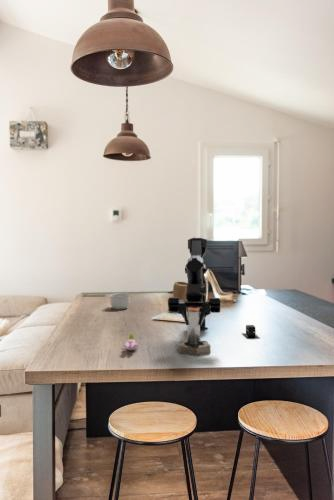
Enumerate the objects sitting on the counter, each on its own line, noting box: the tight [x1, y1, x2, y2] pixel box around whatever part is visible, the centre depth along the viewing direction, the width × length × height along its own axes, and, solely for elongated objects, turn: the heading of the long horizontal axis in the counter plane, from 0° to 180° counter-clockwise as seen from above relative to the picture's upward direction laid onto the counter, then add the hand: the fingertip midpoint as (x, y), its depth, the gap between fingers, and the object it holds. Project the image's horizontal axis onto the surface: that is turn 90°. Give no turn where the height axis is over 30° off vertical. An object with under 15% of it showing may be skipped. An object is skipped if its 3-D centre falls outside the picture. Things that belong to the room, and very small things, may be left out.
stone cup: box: [172, 280, 188, 309], centre depth 238 cm, size 15×12×15 cm
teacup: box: [109, 292, 131, 311], centre depth 240 cm, size 14×11×8 cm
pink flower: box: [122, 332, 141, 351], centre depth 153 cm, size 6×6×15 cm
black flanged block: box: [241, 324, 261, 340], centre depth 173 cm, size 12×7×5 cm, turn 3°
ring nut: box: [177, 339, 211, 356], centre depth 151 cm, size 11×12×2 cm
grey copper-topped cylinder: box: [186, 306, 201, 344], centre depth 151 cm, size 5×5×12 cm
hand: (193, 324), depth 149 cm, fingers closed on grey copper-topped cylinder, 4 cm apart
